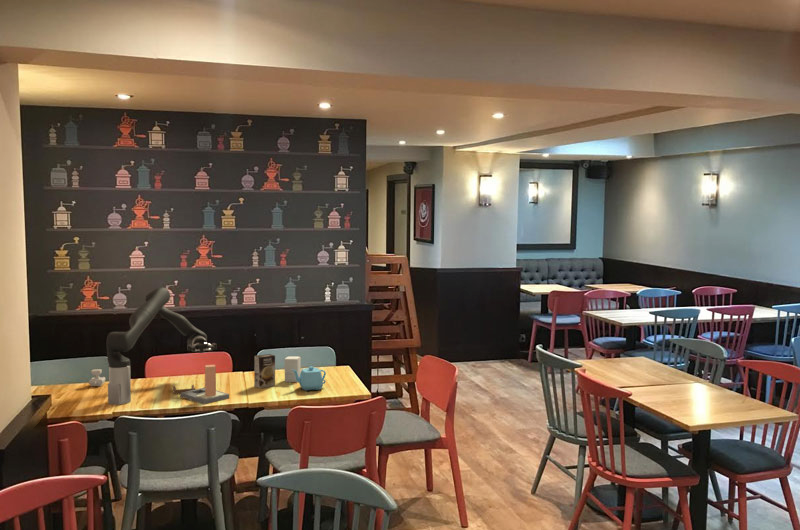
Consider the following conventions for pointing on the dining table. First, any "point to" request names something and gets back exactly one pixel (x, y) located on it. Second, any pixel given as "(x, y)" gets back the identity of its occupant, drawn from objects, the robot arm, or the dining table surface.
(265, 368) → the coffee box
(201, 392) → the board
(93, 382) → the stamp
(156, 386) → the dining table surface
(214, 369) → the terracotta block
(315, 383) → the teapot
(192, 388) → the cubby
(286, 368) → the supplement box
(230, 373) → the dining table surface
